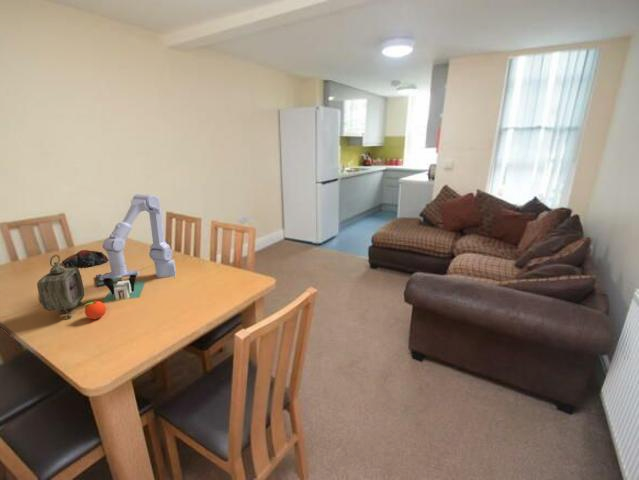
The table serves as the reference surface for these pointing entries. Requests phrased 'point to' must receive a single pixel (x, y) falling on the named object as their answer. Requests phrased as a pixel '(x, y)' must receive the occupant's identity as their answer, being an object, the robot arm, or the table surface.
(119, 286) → the block
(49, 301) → the tabletop clock
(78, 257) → the drone shell
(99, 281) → the disk drive
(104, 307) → the clementine
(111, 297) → the pin board
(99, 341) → the table surface
